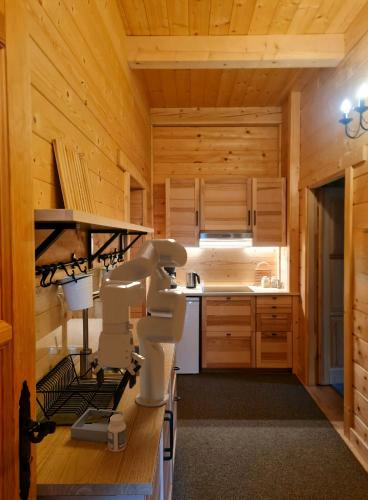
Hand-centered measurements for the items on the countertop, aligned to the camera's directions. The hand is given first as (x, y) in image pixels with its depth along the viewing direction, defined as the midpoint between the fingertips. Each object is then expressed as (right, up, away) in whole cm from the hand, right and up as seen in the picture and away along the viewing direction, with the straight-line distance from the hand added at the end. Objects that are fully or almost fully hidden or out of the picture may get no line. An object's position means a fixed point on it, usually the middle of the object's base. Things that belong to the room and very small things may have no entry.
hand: (116, 385), depth 100 cm
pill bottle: (0, -19, +1) cm, 19 cm away
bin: (-8, -18, +10) cm, 22 cm away
